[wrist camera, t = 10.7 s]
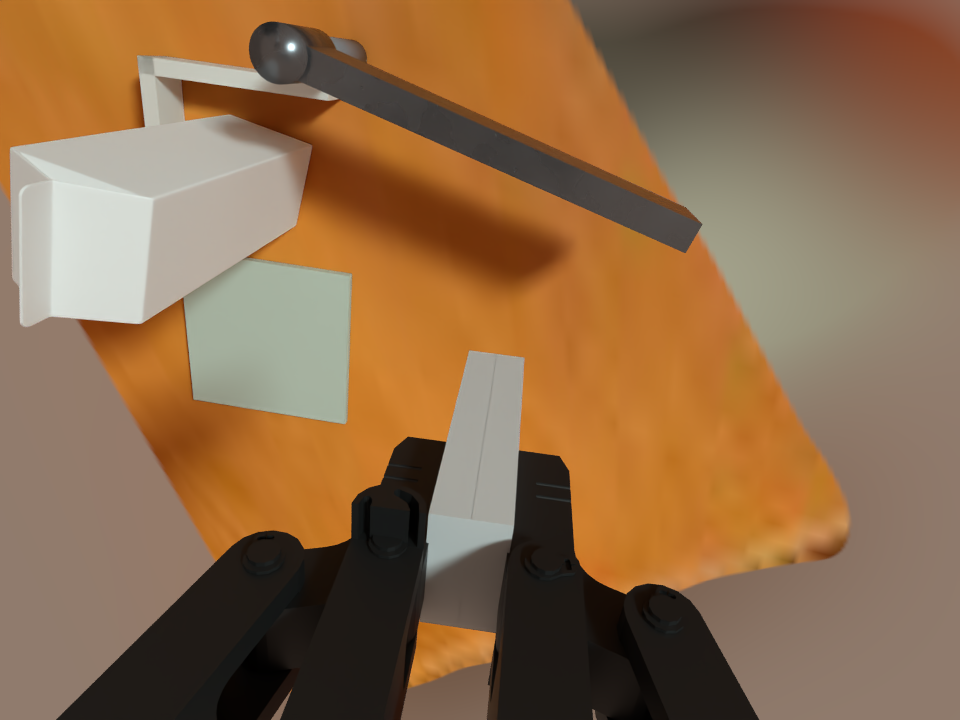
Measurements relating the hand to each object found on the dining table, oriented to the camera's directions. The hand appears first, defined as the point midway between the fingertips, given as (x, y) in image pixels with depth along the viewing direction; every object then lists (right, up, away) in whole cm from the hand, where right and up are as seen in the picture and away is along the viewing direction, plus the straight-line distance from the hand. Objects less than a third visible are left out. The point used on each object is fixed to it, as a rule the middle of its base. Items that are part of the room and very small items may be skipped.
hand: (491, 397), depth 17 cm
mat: (-17, +3, +31) cm, 36 cm away
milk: (-15, +14, +26) cm, 33 cm away
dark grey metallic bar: (0, +13, +17) cm, 21 cm away
